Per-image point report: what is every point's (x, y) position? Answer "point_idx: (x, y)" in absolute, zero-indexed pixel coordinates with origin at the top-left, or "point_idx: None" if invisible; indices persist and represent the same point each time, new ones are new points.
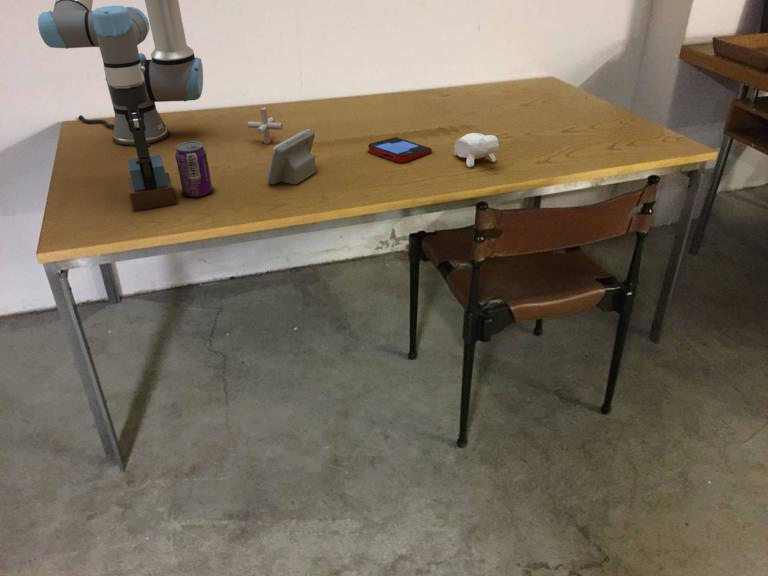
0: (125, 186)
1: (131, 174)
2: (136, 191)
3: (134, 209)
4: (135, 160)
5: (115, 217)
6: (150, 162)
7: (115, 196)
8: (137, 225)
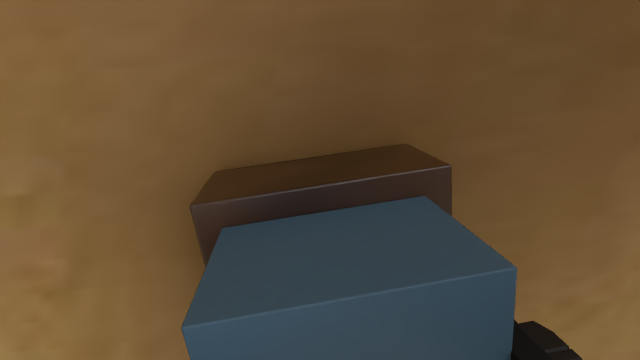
0: (531, 101)
1: (193, 308)
2: (217, 238)
3: (213, 174)
4: (462, 338)
5: (157, 81)
6: None
7: (427, 59)
8: (45, 197)
